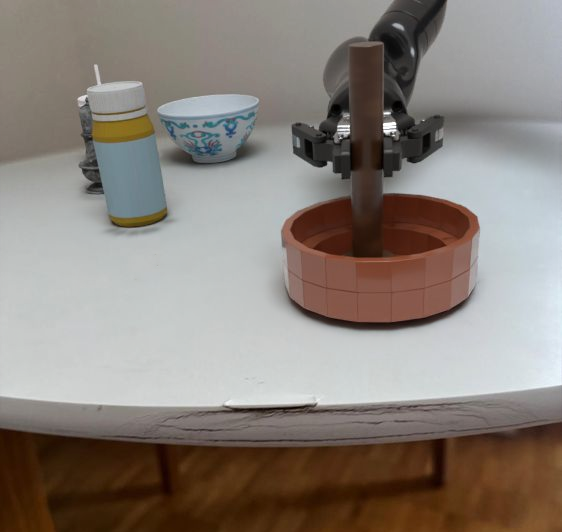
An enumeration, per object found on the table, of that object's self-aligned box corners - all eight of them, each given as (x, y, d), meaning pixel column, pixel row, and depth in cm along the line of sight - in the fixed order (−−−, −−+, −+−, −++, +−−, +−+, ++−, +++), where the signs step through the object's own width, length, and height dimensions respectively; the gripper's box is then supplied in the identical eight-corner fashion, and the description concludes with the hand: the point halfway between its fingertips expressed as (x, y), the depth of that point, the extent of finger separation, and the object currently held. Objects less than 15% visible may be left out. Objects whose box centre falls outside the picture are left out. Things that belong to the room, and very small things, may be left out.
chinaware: (226, 174, 97) (219, 117, 93) (145, 166, 105) (135, 113, 101) (281, 148, 108) (277, 95, 104) (205, 142, 115) (198, 93, 111)
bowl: (435, 243, 70) (438, 184, 67) (506, 315, 56) (513, 245, 53) (274, 264, 69) (269, 205, 66) (305, 343, 55) (300, 273, 52)
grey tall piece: (114, 179, 100) (96, 90, 94) (134, 186, 96) (117, 94, 90) (76, 189, 97) (55, 98, 91) (95, 197, 93) (75, 103, 87)
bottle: (104, 216, 86) (75, 87, 78) (157, 204, 88) (135, 78, 80) (119, 232, 80) (91, 95, 72) (176, 219, 83) (155, 85, 75)
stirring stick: (386, 257, 62) (388, 37, 53) (402, 278, 58) (407, 44, 49) (334, 264, 62) (326, 43, 52) (347, 286, 58) (341, 51, 48)
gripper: (438, 151, 68) (458, 210, 53) (297, 157, 70) (278, 216, 55) (442, 68, 64) (464, 108, 50) (292, 78, 66) (271, 118, 51)
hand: (366, 165), depth 52 cm, fingers closed on stirring stick, 2 cm apart
